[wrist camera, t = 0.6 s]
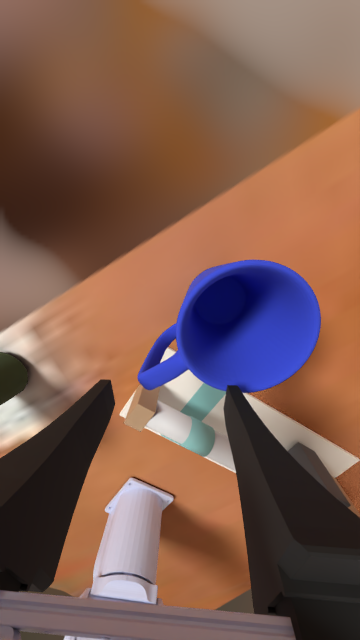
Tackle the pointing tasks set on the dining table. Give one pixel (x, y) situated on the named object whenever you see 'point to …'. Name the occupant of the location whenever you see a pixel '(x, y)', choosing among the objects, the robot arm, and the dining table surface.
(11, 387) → the character mug
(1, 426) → the dining table surface
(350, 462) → the linear rail slide
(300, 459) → the collar
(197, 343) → the mug
